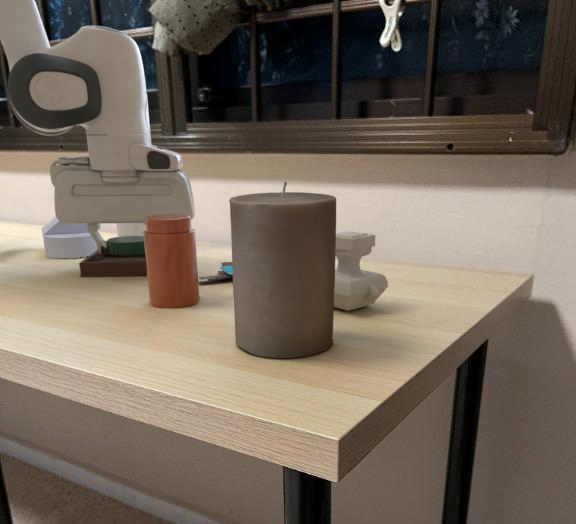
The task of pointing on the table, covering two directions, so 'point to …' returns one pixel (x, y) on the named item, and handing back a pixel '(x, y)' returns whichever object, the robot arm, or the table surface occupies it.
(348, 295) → the stamp
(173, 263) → the jar
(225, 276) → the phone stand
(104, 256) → the tray
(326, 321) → the pillar candle
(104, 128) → the robot arm
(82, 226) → the wedge on round base
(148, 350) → the table surface
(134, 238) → the jar lid
